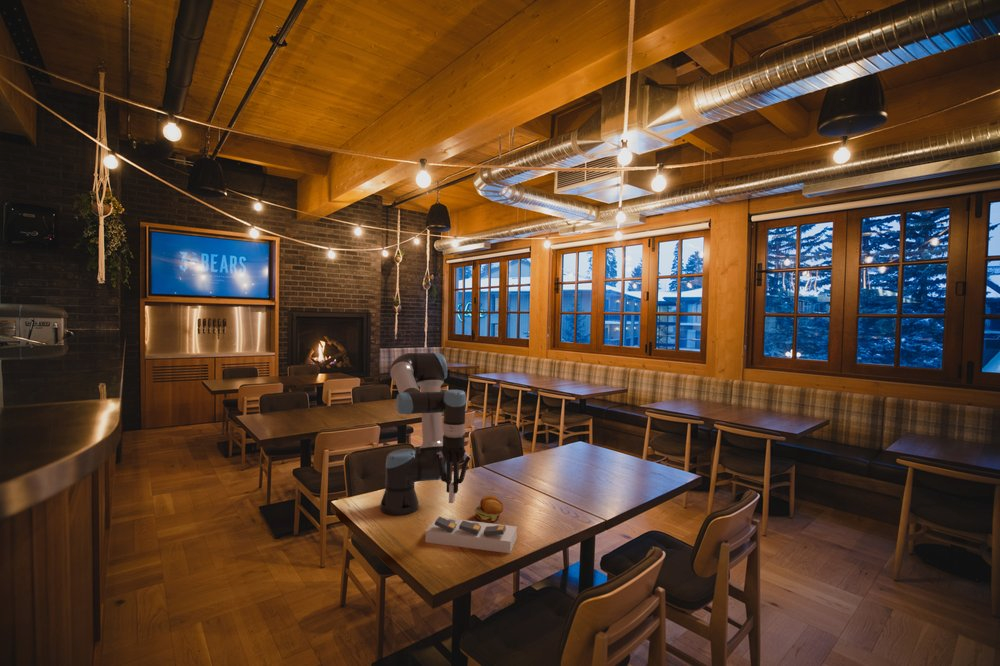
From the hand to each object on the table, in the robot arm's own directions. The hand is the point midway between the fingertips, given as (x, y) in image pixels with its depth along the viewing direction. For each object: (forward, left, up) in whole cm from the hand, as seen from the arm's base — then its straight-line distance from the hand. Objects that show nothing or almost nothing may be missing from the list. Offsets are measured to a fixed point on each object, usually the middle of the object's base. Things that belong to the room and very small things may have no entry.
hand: (451, 501), depth 165 cm
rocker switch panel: (+7, +3, -14) cm, 16 cm away
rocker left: (-2, 0, -9) cm, 9 cm away
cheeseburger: (+8, +22, -14) cm, 27 cm away
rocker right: (+16, 0, -9) cm, 18 cm away
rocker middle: (+7, 0, -9) cm, 11 cm away
